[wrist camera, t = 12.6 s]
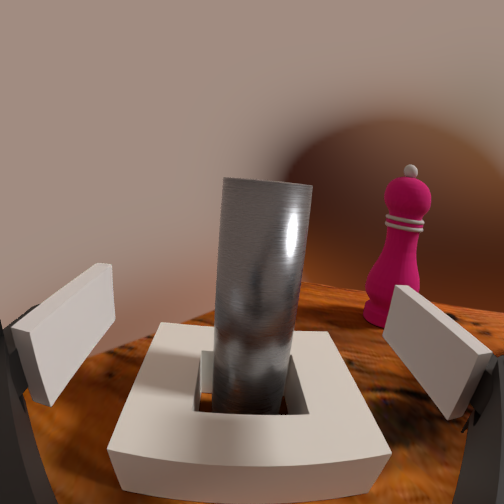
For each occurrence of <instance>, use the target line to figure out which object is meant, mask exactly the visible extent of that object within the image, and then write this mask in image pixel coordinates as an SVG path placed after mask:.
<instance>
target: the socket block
mask: <svg viewBox="0 0 504 504" xmlns="http://www.w3.org/2000/svg"><path fill="white" fill-rule="evenodd" d="M213 346H214V327H208V326H196V325H185V324H174V323H164V322H161V324H160V326H159V328H158V330H157V332H156V334H155V336H154V339H153V341H152V343H151V345H150V348H149V350H148V352H147V354H146V356H145V359H144V361H143V363H142V365H141V368H140V370H139V372H138V375H137V377H136V379H135V382H134V384H133V386H132V389H131V391H130V393H129V396H128V398H127V400H126V403H125V405H124V408H123V410H122V412H121V415H120V417H119V420H118V422H117V425H116V427H115V430H114V432H113V435H112V437H111V440H110V442H109V445H108V447H107V451H108V454H109V457H110V460H111V462H112V465H113V468H114V471H115V473H116V476H117V478H118V481H119V483H120V486H121V488H122V490H125V491H130V492H134V493H139V494H145V495H150V496H156V497H163V498H170V499H177V500H186V501H195V502H207V503H223V504H280V503H296V502H308V501H318V500H326V499H334V498H341V497H347V496H353V495H359V494H364V493H368V492H369V490H370V489H371V487H372V485H373V484H374V482H375V481H376V479H377V478H378V476H379V474H380V473H381V471H382V469H383V468H384V466H385V464H386V463H387V461H388V459H389V458H390V456H391V454H392V452H391V450H390V448H389V446H388V444H387V442H386V440H385V438H384V437H383V435H382V433H381V431H380V429H379V427H378V425H377V423H376V421H375V419H374V417H373V415H372V413H371V412H370V410H369V408H368V406H367V404H366V402H365V400H364V398H363V396H362V394H361V393H360V391H359V389H358V387H357V385H356V383H355V381H354V379H353V378H352V376H351V374H350V372H349V370H348V368H347V366H346V365H345V363H344V361H343V359H342V357H341V355H340V354H339V352H338V350H337V348H336V346H335V344H334V343H333V341H332V339H331V337H330V335H329V333H328V332H313V331H294V332H293V339H292V345H291V351H290V357H289V362H288V368H287V374H286V379H285V385H284V390H283V396H284V397H285V401H286V406H287V410H288V415H243V414H223V413H208V412H199V405H200V398H201V392H204V393H212V376H213Z"/></svg>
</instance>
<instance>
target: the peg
mask: <svg viewBox="0 0 504 504" xmlns="http://www.w3.org/2000/svg"><path fill="white" fill-rule="evenodd" d="M312 187H313V186H311V185H304V184H296V183H287V182H278V181H268V180H257V179H244V178H226V177H224V178H223V190H222V203H221V218H220V232H219V247H218V264H217V281H216V301H215V322H214V346H213V376H212V413H223V414H243V415H279V411H280V406H281V401H282V396H283V390H284V385H285V379H286V374H287V368H288V362H289V357H290V351H291V345H292V339H293V332H294V326H295V320H296V313H297V307H298V300H299V293H300V286H301V278H302V271H303V264H304V256H305V249H306V241H307V232H308V224H309V215H310V206H311V197H312Z"/></svg>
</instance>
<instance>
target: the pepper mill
mask: <svg viewBox="0 0 504 504" xmlns="http://www.w3.org/2000/svg"><path fill="white" fill-rule="evenodd" d="M417 173H418V171H417V169H416V167H415V166H413V165H407V166H406V167H405V169H404V174H405V176H406V177H399V178H396V179H394V180H392V181H391V182H390V183H389V184H388V186H387V188H386V191H385V195H384V196H385V197H384V198H385V203H386V205H387V207H388V209H389V214H386V217H387V219H386V222H385V224H386V225H387V226H388V227H387V237H386V242H385V245H384V248H383V251H382V253H381V255H380V257H379V258H378V260H377V261H376V263H375V264H374V266H373V268H372V269H371V271H370V273H369V275H368V277H367V281H366V284H365V288H366V292H367V294H368V296H369V298H370V300H368V301H366V303H365V307H364V312H363V316H364V318H365V319H366V320H367V321H368V322H369V323H371V324H373V325H375V326H378V327H382V328H385V324H386V320H387V317H388V313H389V309H390V305H391V300H392V296H393V292H394V287H395V285H408V286H409V287H411V288H412V289H413V290H415V291H416V292H417V293H419V275H418V268H417V262H416V248H417V241H418V236H419V233H420V232H422V231H423V228H422V227H423V224H424V221H423V220H422V217H423V216H424V215H425V214H426V213H427V212H428V211H429V209H430V205H431V194H430V191H429V189H428V187H427V186H426V185H425V184H424V183H423V182H421V181H420V180H418V179H416V178H415V177H416V176H417Z"/></svg>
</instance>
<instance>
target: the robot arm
mask: <svg viewBox="0 0 504 504" xmlns="http://www.w3.org/2000/svg"><path fill="white" fill-rule="evenodd" d="M114 321H115V311H114V298H113V281H112V264H103V263H96V264H95V265H93V266H92V267H91V268H89V269H88V270H86V271H85V272H84V273H82V274H81V275H79V276H78V277H76V278H75V279H74V280H72V281H71V282H69V283H68V284H67V285H65V286H64V287H63V288H61V289H60V290H59V291H57V292H56V293H54V294H53V295H52V296H50V297H49V298H48V299H46V300H45V301H44V302H42V303H41V304H38V305H36V306H33V307H31V308H30V309H29V310H27V311H26V312H25V313H24V314H22V315H21V316H20V317H19V318H18V319H16V320H14V321H13V322H12V323H11V324H9V325H8V326H7V327H6V328H4V329H2V325H1V320H0V504H58V503H57V500H56V498H55V495H54V493H53V491H52V488H51V485H50V483H49V480H48V478H47V475H46V472H45V469H44V466H43V464H42V461H41V458H40V454H39V451H38V448H37V445H36V441H35V438H34V434H33V431H32V427H31V423H30V419H29V415H28V411H27V407H26V402H25V399H24V397H23V392H24V391H25V390H26V389H27V387H28V389H29V391H30V394H31V397H32V400H33V401H35V402H37V403H40V404H43V405H46V406H49V407H52V405H53V404H54V402H55V401H56V399H57V398H58V396H59V395H60V394H61V392H62V391H63V389H64V388H65V386H66V385H67V384H68V382H69V381H70V379H71V378H72V377H73V375H74V374H75V372H76V371H77V370H78V368H79V367H80V366H81V364H82V363H83V362H84V360H85V359H86V357H87V356H88V355H89V353H90V352H91V351H92V349H93V348H94V347H95V345H96V344H97V343H98V341H99V340H100V339H101V337H102V336H103V335H104V333H105V332H106V331H107V330H108V328H109V327H110V326H111V324H112V323H113V322H114ZM382 336H383V338H384V339H385V340H386V341H387V342H388V344H389V345H390V346H391V347H392V349H393V350H394V351H395V353H396V354H397V355H398V356H399V358H400V359H401V360H402V361H403V363H404V364H405V365H406V366H407V368H408V369H409V370H410V372H411V373H412V374H413V375H414V377H415V378H416V379H417V381H418V382H419V383H420V385H421V386H422V387H423V388H424V390H425V391H426V392H427V394H428V395H429V396H430V398H431V399H432V400H433V402H434V403H435V404H436V406H437V407H438V408H439V410H440V411H441V412H442V414H443V415H444V416H445V418H446V419H447V420H451V419H455V418H458V417H462V416H463V414H464V412H465V410H466V409H467V407H468V405H469V403H470V404H471V405H472V406H473V408H474V410H473V411H472V413H471V415H470V417H469V419H468V420H467V422H466V424H465V426H464V427H463V429H462V431H461V433H464V431H465V430H466V429H468V432H467V439H466V445H465V451H464V456H463V461H462V466H461V470H460V475H459V479H458V483H457V487H456V491H455V495H454V498H453V502H452V504H504V355H502V356H500V357H498V358H497V357H496V356H495V355H494V354H493V352H492V351H491V350H490V349H488V348H487V347H486V346H485V345H484V344H482V343H481V342H480V341H479V340H477V339H476V338H475V337H474V336H473V335H471V334H470V333H469V332H468V331H466V330H465V329H464V328H463V327H461V326H460V325H459V324H458V323H456V322H455V321H454V320H453V319H451V318H450V317H449V316H448V315H446V314H445V313H444V312H442V311H441V310H440V309H438V308H437V307H436V306H435V305H433V304H432V303H431V302H429V301H428V300H427V299H425V298H424V297H423V296H421V295H420V294H419V293H417V292H416V291H415V290H413V289H412V288H411V287H409V286H408V285H395V287H394V292H393V296H392V300H391V305H390V309H389V313H388V317H387V320H386V324H385V328H384V332H383V335H382Z"/></svg>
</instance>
